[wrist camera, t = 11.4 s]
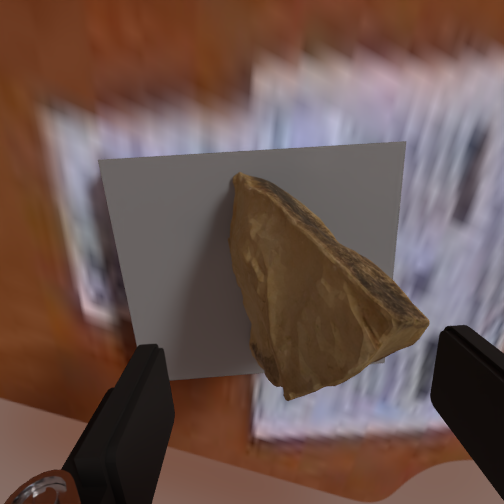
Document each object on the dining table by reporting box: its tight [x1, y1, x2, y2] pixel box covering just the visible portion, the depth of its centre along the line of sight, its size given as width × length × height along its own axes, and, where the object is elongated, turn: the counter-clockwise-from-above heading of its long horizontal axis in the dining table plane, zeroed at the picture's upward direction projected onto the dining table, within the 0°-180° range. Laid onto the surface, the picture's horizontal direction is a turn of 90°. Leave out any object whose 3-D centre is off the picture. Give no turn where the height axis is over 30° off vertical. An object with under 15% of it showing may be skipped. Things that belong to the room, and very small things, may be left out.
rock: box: [228, 172, 429, 401], centre depth 15 cm, size 11×9×10 cm
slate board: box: [98, 141, 406, 381], centre depth 19 cm, size 16×14×2 cm
